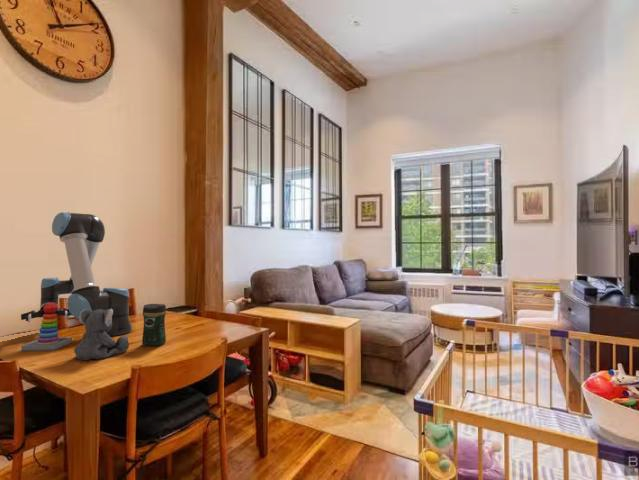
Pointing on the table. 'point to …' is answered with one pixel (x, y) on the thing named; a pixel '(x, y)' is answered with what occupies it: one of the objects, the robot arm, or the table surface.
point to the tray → (34, 347)
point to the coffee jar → (154, 324)
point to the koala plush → (98, 336)
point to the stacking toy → (49, 326)
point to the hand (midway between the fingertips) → (48, 317)
